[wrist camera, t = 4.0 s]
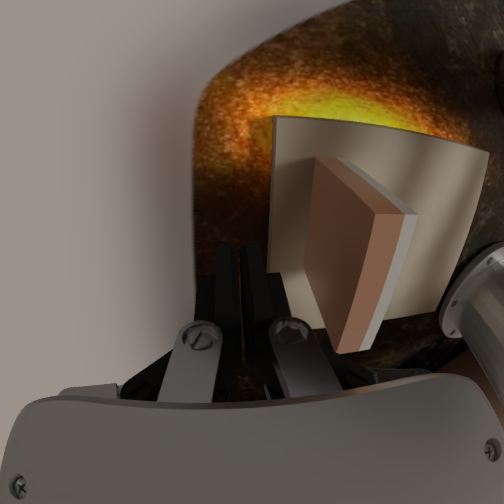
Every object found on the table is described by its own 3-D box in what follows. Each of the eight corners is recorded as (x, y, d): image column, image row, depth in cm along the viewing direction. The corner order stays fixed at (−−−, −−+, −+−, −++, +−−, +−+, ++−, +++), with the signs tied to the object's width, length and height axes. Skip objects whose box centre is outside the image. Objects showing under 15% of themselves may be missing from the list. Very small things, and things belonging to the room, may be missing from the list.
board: (479, 148, 15) (489, 153, 14) (429, 302, 24) (434, 311, 23) (273, 115, 14) (276, 117, 13) (263, 321, 22) (265, 332, 21)
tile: (346, 158, 15) (418, 214, 9) (329, 265, 18) (369, 349, 12) (314, 156, 14) (375, 213, 9) (302, 266, 18) (335, 354, 12)
